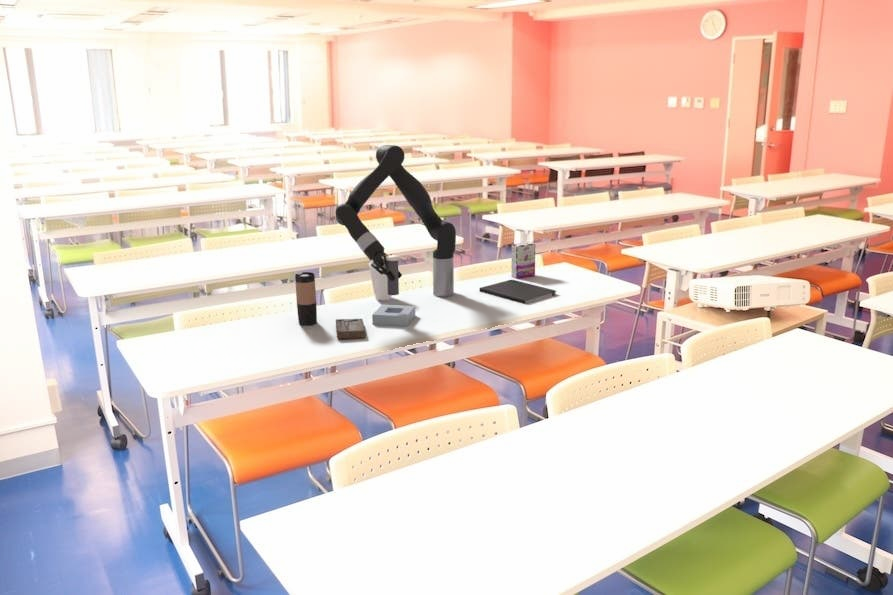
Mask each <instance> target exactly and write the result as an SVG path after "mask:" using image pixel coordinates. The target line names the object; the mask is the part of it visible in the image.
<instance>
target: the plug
mask: <svg viewBox="0 0 893 595" xmlns="http://www.w3.org/2000/svg"><path fill="white" fill-rule="evenodd" d="M389 255H390V254H389ZM386 260H387V265H388V266H387V267H388V268H389V270H390V271H391V272H392V274H393V275H394V276H395V277H396V279H395V280H394V281H391V280H390V279H389V278H388V277H387V283H388V295H391V296H398V295H399V294H400V292H399V291H400V287H399V279H400V278H399V279H398V270H399V260H400V256H399V255H394V254H392V255H390V256H386Z"/></svg>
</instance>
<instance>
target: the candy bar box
mask: <svg viewBox="0 0 893 595" xmlns="http://www.w3.org/2000/svg"><path fill="white" fill-rule="evenodd" d="M535 275H536V243H535V242H532V241H527V242H526V241H525V242H521V243H519V242H518V243H513V244H511V277H512V278H514V279H515V280H516V279H523V278H528V277H535Z"/></svg>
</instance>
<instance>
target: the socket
mask: <svg viewBox="0 0 893 595" xmlns="http://www.w3.org/2000/svg"><path fill="white" fill-rule="evenodd" d="M415 317H416V306H415V305H401V304H400V305H399V304H383V303H382V304H381V305H380V306H379V307H378V308H377V309H376V310H375V311H374V312H373V313H372V315H371V318H372V325H380V326H396V327H397V326H399V327H407V326H409V324H410V323H411V322H412V320H413V319H414V318H415Z"/></svg>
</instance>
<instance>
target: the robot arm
mask: <svg viewBox="0 0 893 595" xmlns="http://www.w3.org/2000/svg"><path fill="white" fill-rule="evenodd" d="M375 158H376V159H375V160H376V161H377V163H378V166H376V167H375V169H374V170H372V171H371V172H370V173H369V174H368V175H366V176H365V177H364V178H362V180H360V181H359V182H358V183H357V185H356V186H355V187H354V188H353V190H352V191H350V193H349V195H348V197H347V200H346V202H345V203H340V204H339V205H338V206H337V207H336V209H335V218H336V221H337V223H338V224H339V225H340V226H343V227H344V226H345V228H346V229H347V231H348V234H349V235H350V237H351V238H352V239H353V240H354V242H355V243H356V244H357V246H358V247H359V249H360V251H361V252H362V253H363V254H364V255H365V256H366V258H367V259H368V260H369V261H372V262H373V261H374V262H373V263H372V264H371V266H372V267H373V268H375V269H376V270H377V271H378V272H379V273H380V274H384V275H387V277H388V278H389V279H390V280H391V281H394V280H395V279H396V277H395V276H394V275H393V274H392V272H391V271H390V270H389V268H388V267H387V266H388V265H387V260H386V256H390V255H393V254H392V253H391V254H389V255H388V254H387V253H386V252H385V247H384V246H383V244H381V242H380V241H379V240H378V239H377V237H376V236H375V235H374V234H373V233H372V232H371V230H369V229H368V228H367V226H366V225H365V224H364V223H363V222H362V220H361V219H360V217H359V215H358V214H359V212H360V211H361V209H362V207H363V206H364V205H365V204H366V202H367V201H368V200H369V199H370V197H372V195H373V194H374V192H375V191H376V190H377V189H378V188H379V187H380V186H381V185H382V183H383V182H385V181H386V180H387V178H388V177H389V178H391V180H392V181H393V183H394V184H395V185H396V187H397V189H399V191H400V193H401V194H402V196H403V197H404V199H405V200H406V201H407V203H408V205H410V207H411V208H412V210H413V211H414V213H415V214H416V215H417V216H418V217H419V219H420V220H421V222H422V223H423V225H424V227H425V228H426V230H427V232H428V234H429V236H430V237H431V238H432V240H433V239H434V240H435V241H436V242H437V244H436V249H434V250H433V251H432V282H433V283H432V286H433V288H432V289H433V292H432V293H433V296H436V297H441V298H443V297H445V298H447V297H451V296H453V295H455V292H454V290H455V289H454V288H455V287H454V286H455V285H454V284H455V282H454V281H455V280H454V278H455V276H454V275H455V274H454V269H455V268H454V266H455V265H454V264H455V263H454V259H455V258H454V253H455V251H456V240H457V232H456V228H455V226H454V224H453V223H451V222H449V221H446V220H444V219H442V218H441V217H440V216H439V215H438V213H437V212H436V211H435V209H434V207H433V203H432V199H431V196H430V194H429V192H428V191H427V190H426V188H425V187H424V186H423V184H422V182H420V181H419V180H418V179H417V178H416V177H415V176H414V175H412V174H411V173H410V172H409V171H407V169H406V168H404V166H403V165H402V164H403V163H404V160H405V152H404V150H403V148H402V147H401V146H399V145H393V144H385V145H381V146H379V147H378V148H377V150H376V152H375ZM379 268H380V269H379ZM381 270H382V271H381ZM402 276H403V275H402V273H401V272H400V270H399V269H398V279H401V277H402Z"/></svg>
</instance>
